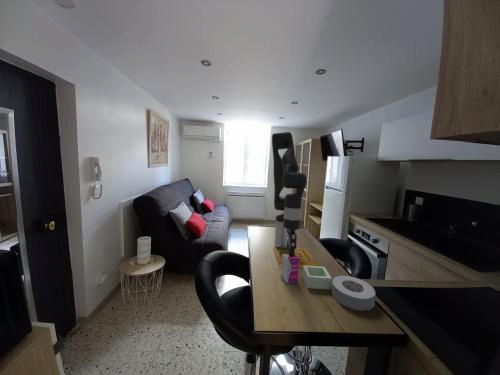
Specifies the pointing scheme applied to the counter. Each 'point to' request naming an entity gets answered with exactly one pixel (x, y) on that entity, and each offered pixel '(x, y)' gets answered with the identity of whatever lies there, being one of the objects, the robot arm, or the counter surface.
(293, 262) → the supplement box
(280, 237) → the robot arm
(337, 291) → the tape roll
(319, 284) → the holder
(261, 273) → the counter surface
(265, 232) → the counter surface
